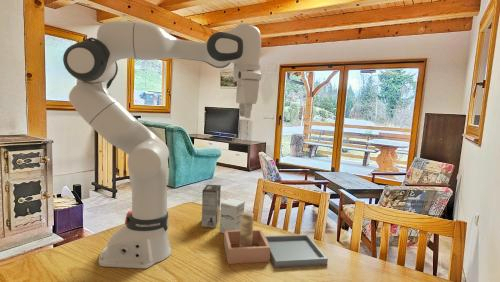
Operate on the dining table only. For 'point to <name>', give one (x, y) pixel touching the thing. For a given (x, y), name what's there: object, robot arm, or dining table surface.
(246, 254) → the open square box
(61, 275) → the dining table surface
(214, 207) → the coffee box
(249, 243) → the dowel
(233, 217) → the supplement box
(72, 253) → the dining table surface
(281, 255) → the tray
